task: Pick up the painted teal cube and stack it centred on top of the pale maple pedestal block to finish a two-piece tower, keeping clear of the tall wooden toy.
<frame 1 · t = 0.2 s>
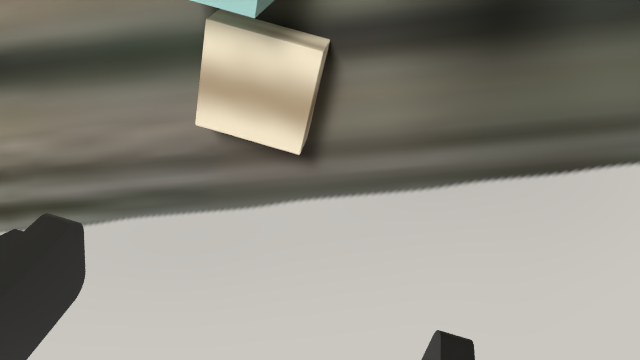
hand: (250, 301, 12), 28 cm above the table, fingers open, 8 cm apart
maple pedestal: (266, 75, 40), on the table
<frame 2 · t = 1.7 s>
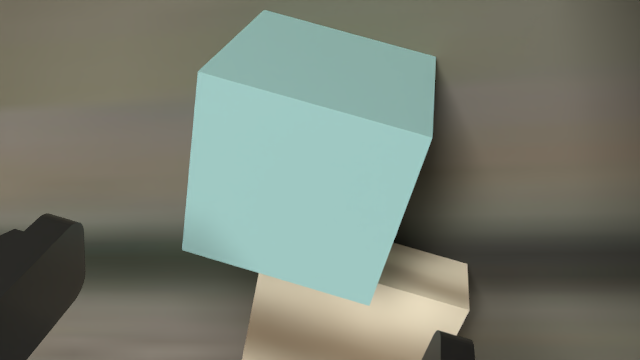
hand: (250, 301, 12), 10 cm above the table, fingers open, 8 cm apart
teal cube: (330, 110, 20), on the table
maple pedestal: (352, 297, 25), on the table
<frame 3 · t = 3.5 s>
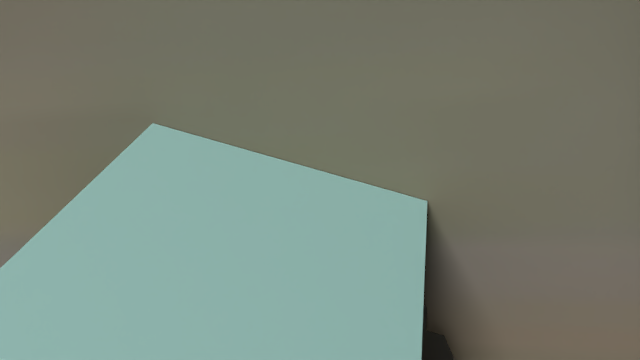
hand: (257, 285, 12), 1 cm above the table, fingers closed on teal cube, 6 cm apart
teal cube: (266, 266, 13), on the table, touching gripper
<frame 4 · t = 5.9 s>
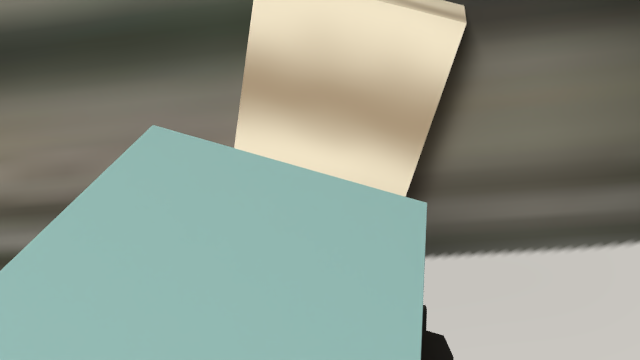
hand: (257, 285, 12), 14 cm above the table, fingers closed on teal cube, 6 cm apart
teal cube: (266, 267, 13), point 14 cm above the table, touching gripper
maple pedestal: (348, 68, 25), on the table
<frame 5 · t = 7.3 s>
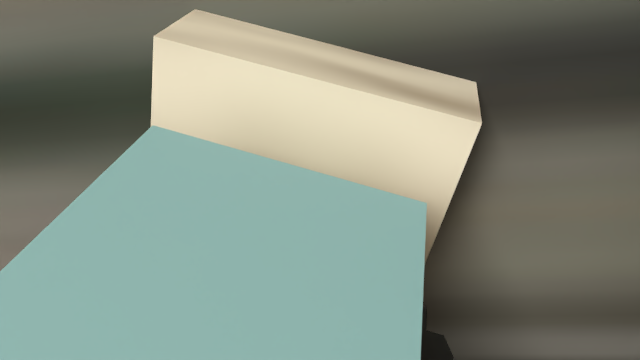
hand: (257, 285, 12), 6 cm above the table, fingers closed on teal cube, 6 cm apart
teal cube: (266, 267, 13), point 5 cm above the table, touching gripper
maple pedestal: (309, 160, 17), on the table
when the fingers open (5 cm above the table, at t = 8.4 s): teal cube drops 2 cm, resting on maple pedestal.
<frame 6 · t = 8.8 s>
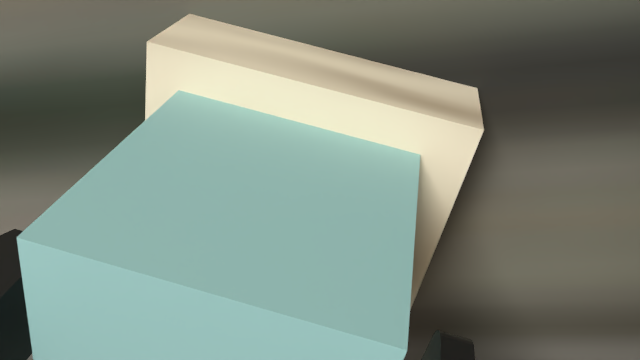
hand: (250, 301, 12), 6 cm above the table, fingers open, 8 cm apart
teal cube: (278, 219, 15), point 2 cm above the table, touching maple pedestal
maple pedestal: (307, 166, 17), on the table, touching teal cube
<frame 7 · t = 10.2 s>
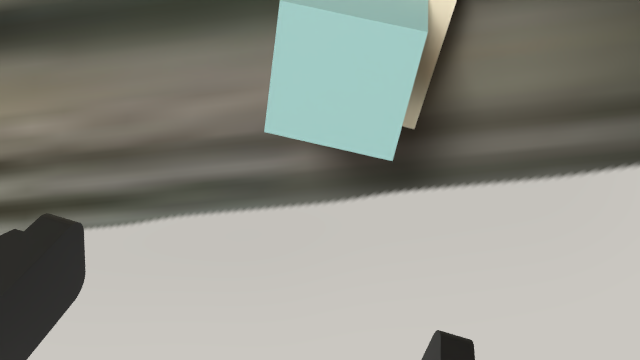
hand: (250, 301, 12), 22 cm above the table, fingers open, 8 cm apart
teal cube: (355, 42, 28), point 3 cm above the table, touching maple pedestal
maple pedestal: (368, 26, 31), on the table, touching teal cube
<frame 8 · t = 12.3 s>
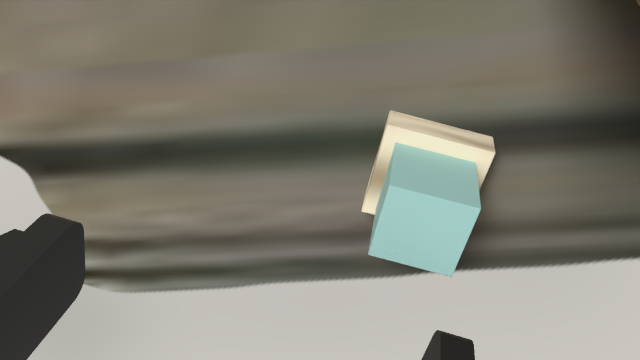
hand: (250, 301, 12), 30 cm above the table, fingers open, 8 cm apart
teal cube: (423, 185, 41), point 2 cm above the table
maple pedestal: (425, 164, 44), on the table
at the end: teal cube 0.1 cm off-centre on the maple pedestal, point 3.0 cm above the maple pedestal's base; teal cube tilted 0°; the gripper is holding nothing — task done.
